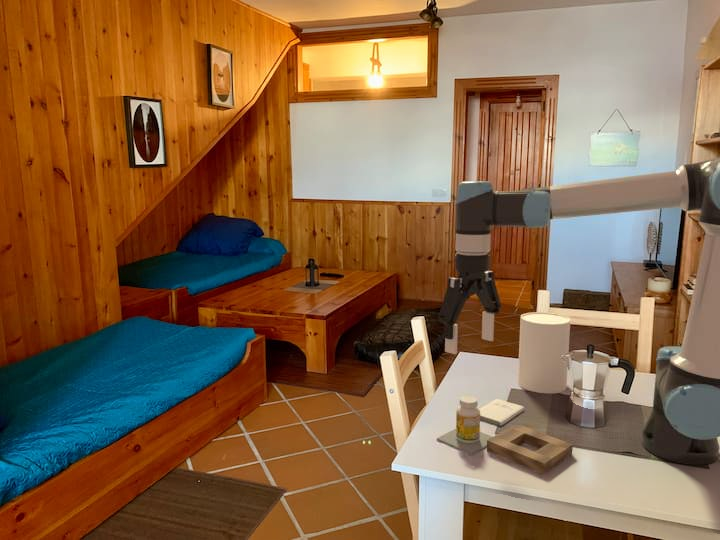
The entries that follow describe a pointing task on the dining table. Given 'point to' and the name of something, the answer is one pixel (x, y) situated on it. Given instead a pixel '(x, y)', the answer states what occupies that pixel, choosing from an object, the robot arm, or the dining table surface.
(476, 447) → the felt pad
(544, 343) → the canister
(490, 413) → the external hard drive
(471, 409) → the supplement bottle
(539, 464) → the block
